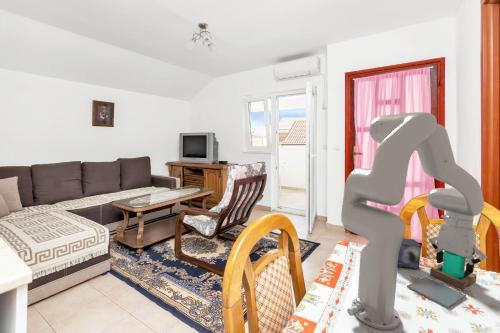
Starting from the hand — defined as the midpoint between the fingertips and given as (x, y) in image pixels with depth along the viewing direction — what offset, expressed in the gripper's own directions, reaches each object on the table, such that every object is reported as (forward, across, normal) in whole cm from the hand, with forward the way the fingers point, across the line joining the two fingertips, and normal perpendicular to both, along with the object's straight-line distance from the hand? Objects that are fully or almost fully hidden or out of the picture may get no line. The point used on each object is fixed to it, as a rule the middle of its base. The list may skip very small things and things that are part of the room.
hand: (453, 267), depth 88 cm
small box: (+5, -15, -6) cm, 17 cm away
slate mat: (+4, +1, -14) cm, 15 cm away
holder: (+5, 0, 0) cm, 5 cm away
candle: (+5, 0, 0) cm, 5 cm away
